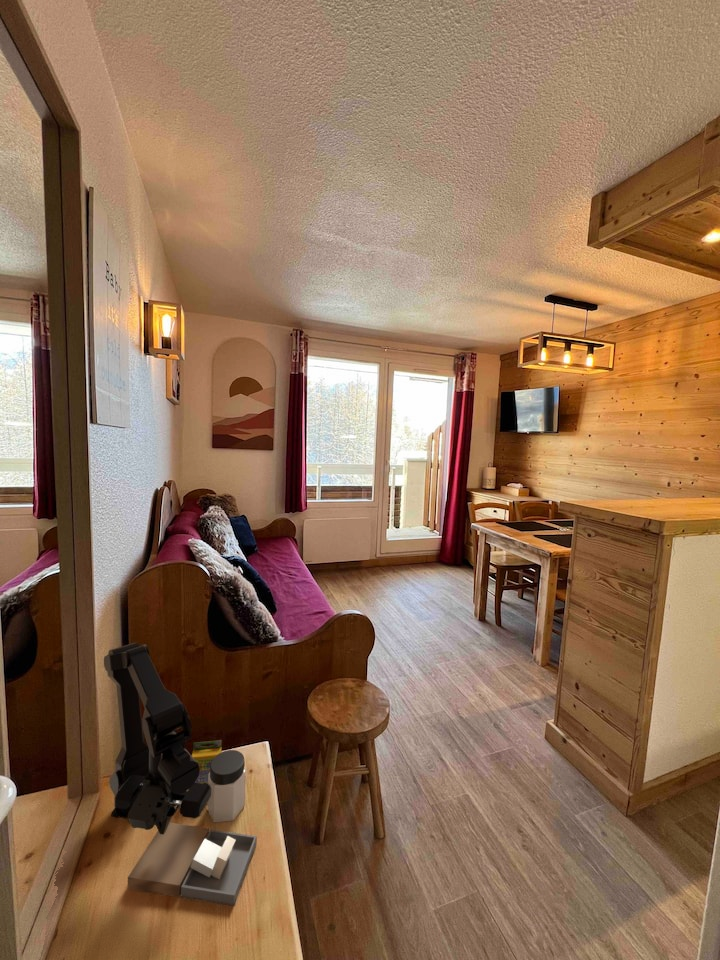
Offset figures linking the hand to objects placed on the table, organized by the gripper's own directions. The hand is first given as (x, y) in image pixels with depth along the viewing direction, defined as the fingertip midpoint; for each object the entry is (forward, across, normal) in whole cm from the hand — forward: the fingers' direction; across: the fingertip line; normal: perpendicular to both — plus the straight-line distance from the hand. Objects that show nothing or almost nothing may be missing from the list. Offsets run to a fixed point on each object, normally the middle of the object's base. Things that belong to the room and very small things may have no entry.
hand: (163, 832), depth 83 cm
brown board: (+7, +2, 0) cm, 7 cm away
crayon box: (+7, 0, +19) cm, 20 cm away
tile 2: (+4, +13, 0) cm, 13 cm away
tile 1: (+5, +10, 0) cm, 11 cm away
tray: (+7, +13, 0) cm, 15 cm away
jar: (+7, +8, +14) cm, 17 cm away
